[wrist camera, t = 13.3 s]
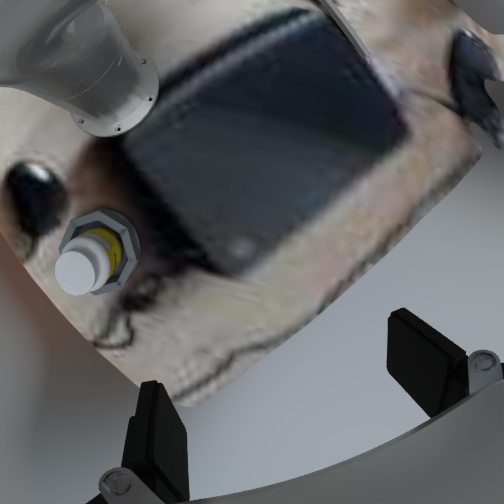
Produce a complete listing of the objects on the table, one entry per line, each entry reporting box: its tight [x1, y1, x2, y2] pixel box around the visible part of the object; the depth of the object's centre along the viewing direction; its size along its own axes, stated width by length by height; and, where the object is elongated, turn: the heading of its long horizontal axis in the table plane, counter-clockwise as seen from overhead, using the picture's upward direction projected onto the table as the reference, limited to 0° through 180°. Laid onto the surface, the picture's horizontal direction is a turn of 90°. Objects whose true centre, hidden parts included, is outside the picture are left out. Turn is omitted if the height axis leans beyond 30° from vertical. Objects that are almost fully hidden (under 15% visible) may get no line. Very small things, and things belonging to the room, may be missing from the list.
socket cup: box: [59, 208, 141, 295], centre depth 36 cm, size 10×10×4 cm
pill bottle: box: [55, 226, 124, 296], centre depth 31 cm, size 6×6×11 cm
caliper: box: [319, 0, 372, 65], centre depth 31 cm, size 20×1×6 cm, turn 42°
